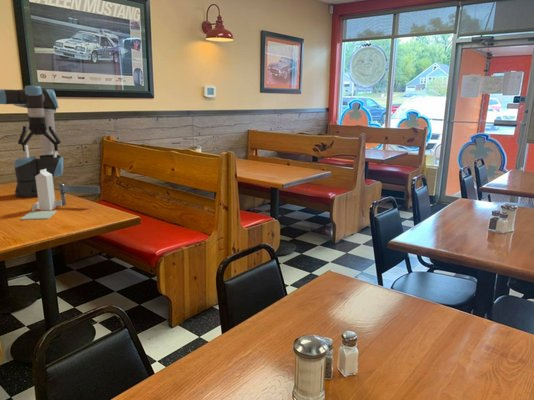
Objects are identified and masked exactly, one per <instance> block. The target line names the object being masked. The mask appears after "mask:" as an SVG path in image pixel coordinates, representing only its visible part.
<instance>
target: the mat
mask: <svg viewBox="0 0 534 400" xmlns="http://www.w3.org/2000/svg"><path fill="white" fill-rule="evenodd" d="M57 212H58V210H50V211H49V210H39V211H37V210H35V211H32V210H31V211H29V212H28V213H26V214H25V215H24V216H22V217H21V218H20V221H24V220H25V221H26V220H28V221H29V220H31V221H33V220H49V219H51V217H53V216H54V215H55V214H56V213H57Z"/></svg>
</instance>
